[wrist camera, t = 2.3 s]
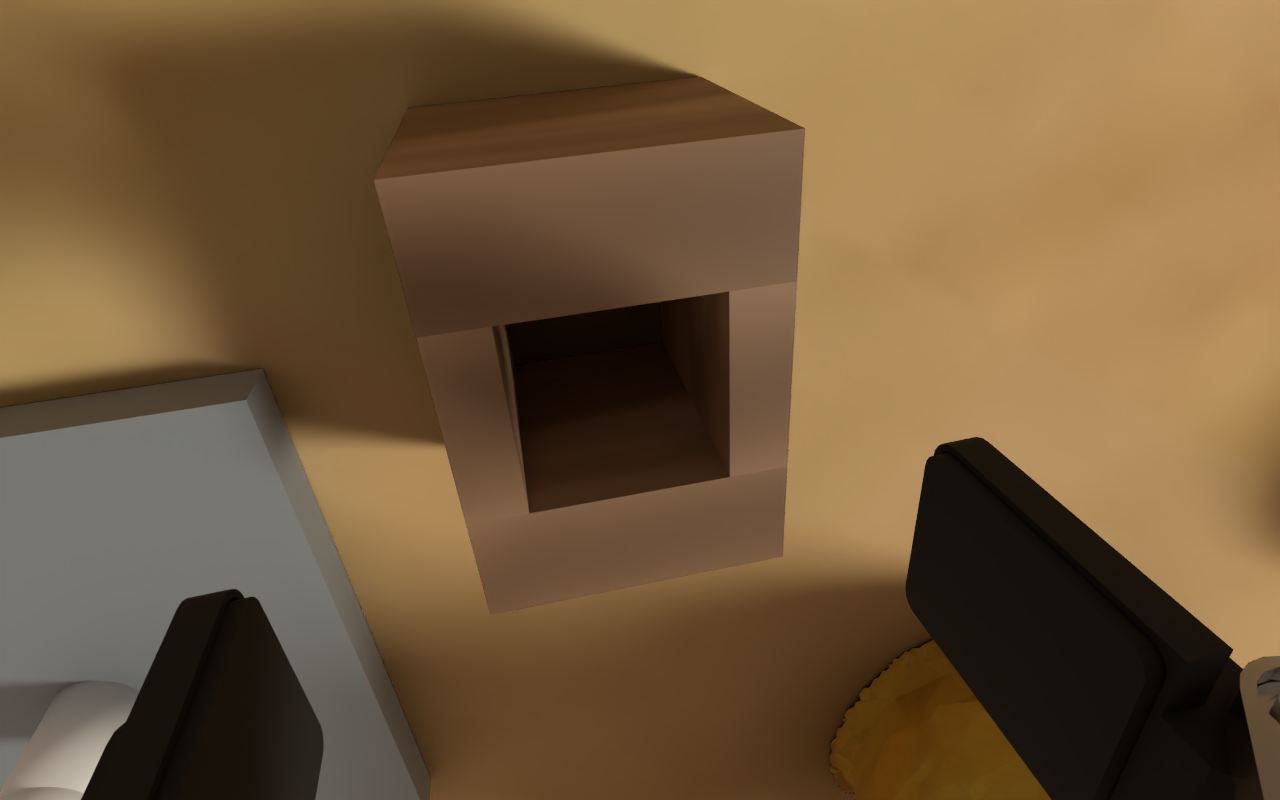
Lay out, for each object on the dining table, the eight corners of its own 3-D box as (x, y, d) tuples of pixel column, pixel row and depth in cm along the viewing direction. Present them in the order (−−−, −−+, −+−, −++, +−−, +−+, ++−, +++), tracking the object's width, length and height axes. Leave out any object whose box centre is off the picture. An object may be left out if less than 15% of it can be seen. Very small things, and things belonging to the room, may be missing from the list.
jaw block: (408, 108, 15) (373, 179, 10) (700, 76, 16) (804, 128, 11) (486, 450, 20) (490, 614, 15) (707, 412, 21) (782, 556, 16)
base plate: (-406, 468, 16) (-796, 691, 11) (262, 368, 17) (181, 521, 13) (30, 868, 25) (-75, 1080, 20) (430, 778, 27) (420, 953, 22)
